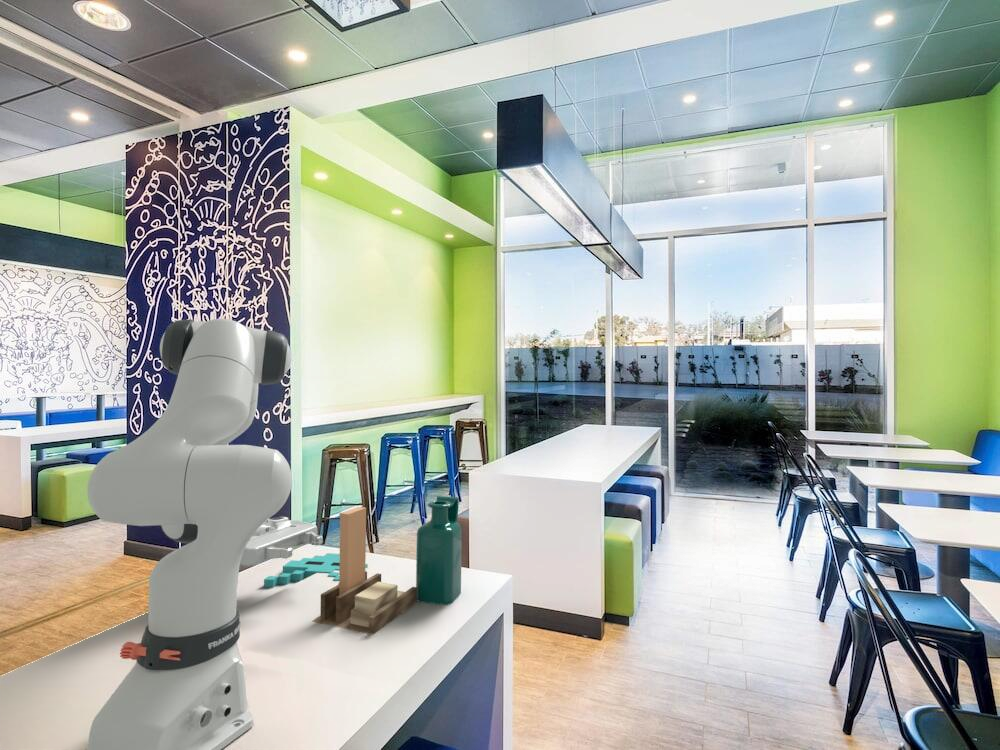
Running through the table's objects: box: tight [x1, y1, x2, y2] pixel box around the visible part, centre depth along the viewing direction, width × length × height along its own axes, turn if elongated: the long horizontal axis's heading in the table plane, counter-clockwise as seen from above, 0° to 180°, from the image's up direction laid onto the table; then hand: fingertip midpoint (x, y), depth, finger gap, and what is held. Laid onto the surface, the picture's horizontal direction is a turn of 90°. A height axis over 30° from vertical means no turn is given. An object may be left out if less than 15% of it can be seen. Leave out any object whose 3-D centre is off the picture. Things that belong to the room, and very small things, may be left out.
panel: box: [338, 506, 367, 595], centre depth 114 cm, size 6×2×20 cm, turn 159°
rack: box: [312, 570, 418, 635], centre depth 113 cm, size 16×14×6 cm
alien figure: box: [263, 552, 369, 588], centre depth 138 cm, size 20×2×20 cm
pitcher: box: [415, 495, 463, 606], centre depth 122 cm, size 10×8×22 cm
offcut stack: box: [351, 581, 405, 627], centre depth 112 cm, size 12×5×5 cm, turn 159°
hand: (305, 547), depth 118 cm, fingers open, 8 cm apart
